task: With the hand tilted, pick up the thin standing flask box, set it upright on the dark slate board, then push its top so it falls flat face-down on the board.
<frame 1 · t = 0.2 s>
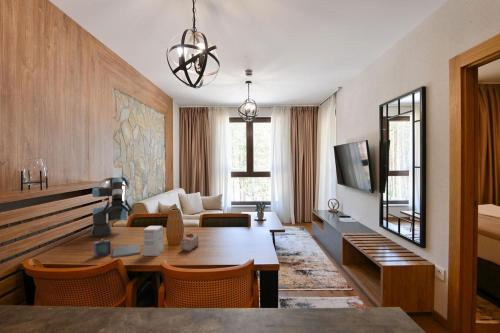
hand: (117, 221, 193), 16 cm above the table, tool tilted 35°, fingers open, 13 cm apart
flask: (102, 255, 166), on the table
food item: (189, 248, 177), on the table
supplement box: (153, 253, 168), on the table
slate board: (126, 251, 172), on the table
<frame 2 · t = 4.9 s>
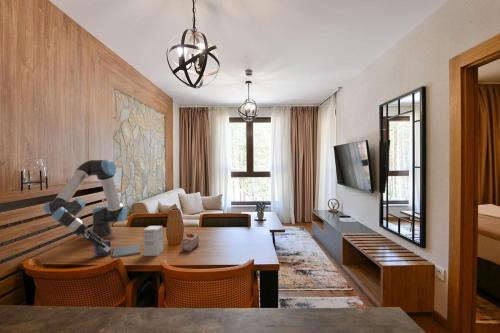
hand: (109, 249, 167), 3 cm above the table, tool tilted 45°, fingers closed on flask, 3 cm apart
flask: (102, 255, 166), on the table, touching gripper
everything else where it was.
when the fingers open (5 cm above the table, at t = 9.8 s): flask stays where it is, resting on slate board.
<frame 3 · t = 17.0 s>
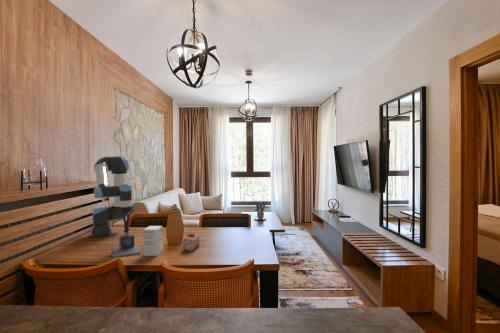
hand: (126, 240, 177), 6 cm above the table, tool pointing down, fingers closed
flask: (126, 247, 176), point 1 cm above the table, touching slate board
everything else where it was.
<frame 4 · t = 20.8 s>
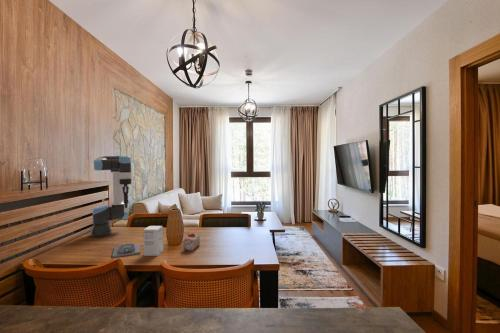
hand: (126, 212, 181), 24 cm above the table, tool pointing down, fingers closed
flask: (126, 246, 175), point 3 cm above the table, touching slate board
at the end: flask tilted 90°; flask 2.7 cm from the slate board (horizontally); the gripper is holding nothing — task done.
